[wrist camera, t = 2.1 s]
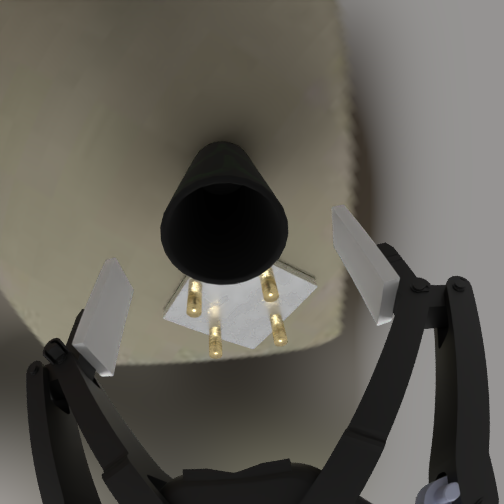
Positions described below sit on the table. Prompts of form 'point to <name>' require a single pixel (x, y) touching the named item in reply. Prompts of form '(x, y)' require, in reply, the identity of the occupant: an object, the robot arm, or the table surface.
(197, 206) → the cup
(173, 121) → the table surface
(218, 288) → the white board with pegs
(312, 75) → the table surface
